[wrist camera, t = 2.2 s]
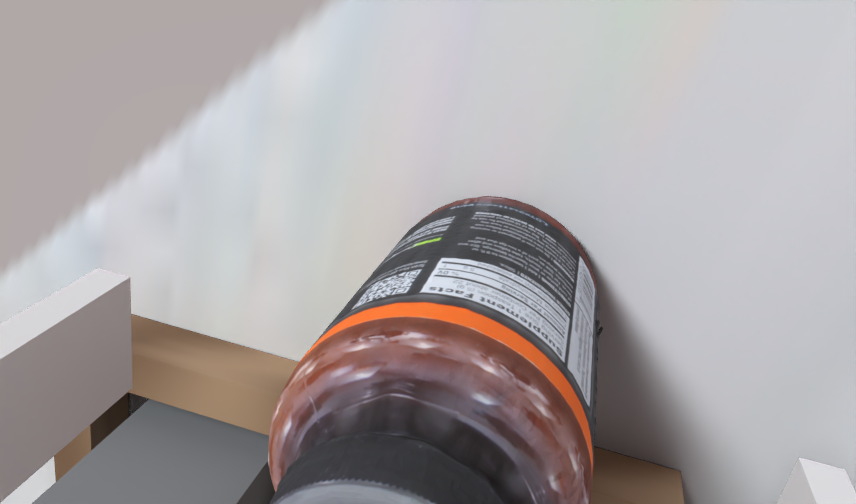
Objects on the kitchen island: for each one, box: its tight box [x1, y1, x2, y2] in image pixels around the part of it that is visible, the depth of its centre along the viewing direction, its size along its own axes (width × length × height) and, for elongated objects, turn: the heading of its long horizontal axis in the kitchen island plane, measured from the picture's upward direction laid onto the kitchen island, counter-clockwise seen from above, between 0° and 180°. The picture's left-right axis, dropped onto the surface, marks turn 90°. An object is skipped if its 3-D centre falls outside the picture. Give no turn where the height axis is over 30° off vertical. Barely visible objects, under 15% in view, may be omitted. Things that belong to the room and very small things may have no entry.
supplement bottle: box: [268, 196, 603, 504], centre depth 15 cm, size 6×6×11 cm
